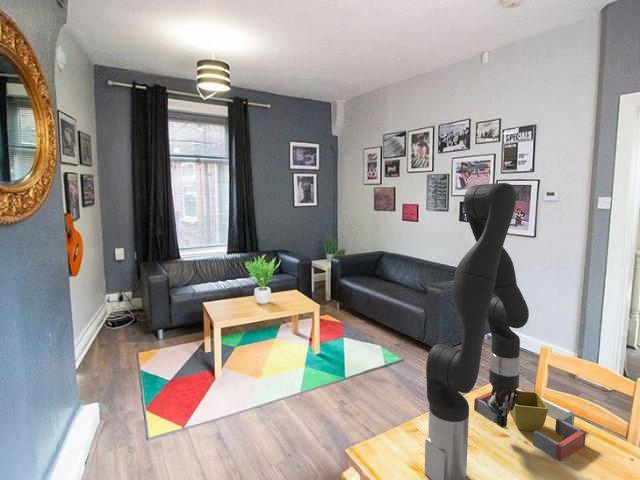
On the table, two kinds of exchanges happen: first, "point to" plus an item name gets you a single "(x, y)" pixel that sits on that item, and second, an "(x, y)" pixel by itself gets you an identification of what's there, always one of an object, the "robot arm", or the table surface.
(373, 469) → the table surface
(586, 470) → the table surface
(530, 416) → the flower pot
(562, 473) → the table surface
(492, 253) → the robot arm
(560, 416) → the box
